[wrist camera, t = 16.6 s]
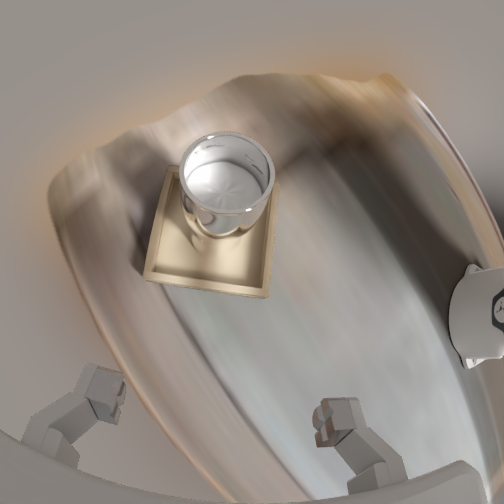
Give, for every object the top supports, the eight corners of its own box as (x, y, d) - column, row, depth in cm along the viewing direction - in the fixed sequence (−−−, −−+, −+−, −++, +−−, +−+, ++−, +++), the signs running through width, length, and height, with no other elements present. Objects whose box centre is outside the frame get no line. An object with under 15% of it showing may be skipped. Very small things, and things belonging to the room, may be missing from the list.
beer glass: (207, 195, 34) (213, 115, 19) (256, 224, 34) (294, 159, 19) (174, 242, 32) (155, 183, 17) (226, 274, 32) (246, 237, 18)
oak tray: (274, 192, 36) (279, 183, 33) (263, 298, 33) (268, 296, 30) (170, 175, 34) (168, 165, 32) (147, 280, 31) (142, 277, 28)
